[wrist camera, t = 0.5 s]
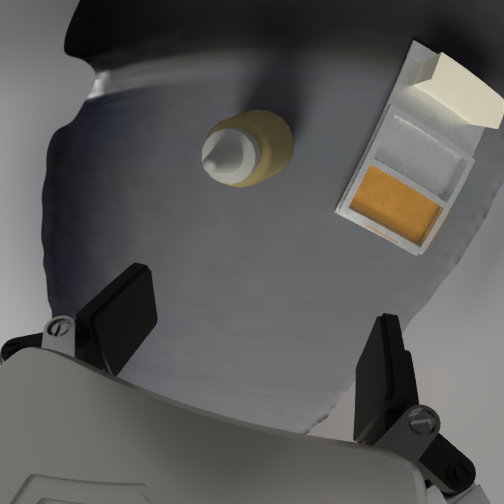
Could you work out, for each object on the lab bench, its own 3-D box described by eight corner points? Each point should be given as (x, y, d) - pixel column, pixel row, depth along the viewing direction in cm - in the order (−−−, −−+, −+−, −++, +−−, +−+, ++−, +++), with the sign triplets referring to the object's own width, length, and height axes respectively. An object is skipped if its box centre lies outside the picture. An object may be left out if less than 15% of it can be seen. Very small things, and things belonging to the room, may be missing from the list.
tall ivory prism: (422, 62, 25) (441, 52, 19) (480, 102, 24) (507, 102, 18) (413, 85, 27) (431, 79, 21) (471, 124, 26) (497, 128, 20)
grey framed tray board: (412, 41, 25) (417, 37, 22) (493, 98, 24) (502, 98, 22) (334, 210, 37) (334, 216, 35) (415, 253, 36) (419, 261, 34)
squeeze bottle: (306, 120, 33) (283, 124, 17) (286, 180, 37) (250, 234, 21) (243, 102, 34) (171, 97, 18) (227, 161, 38) (153, 199, 22)
